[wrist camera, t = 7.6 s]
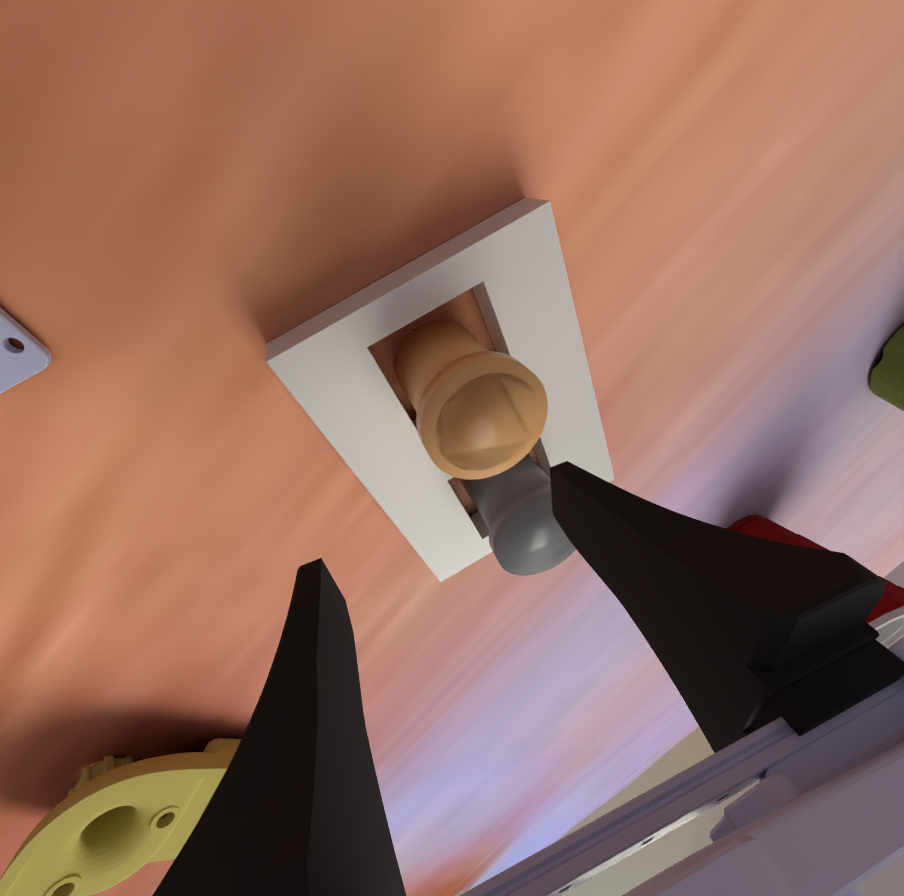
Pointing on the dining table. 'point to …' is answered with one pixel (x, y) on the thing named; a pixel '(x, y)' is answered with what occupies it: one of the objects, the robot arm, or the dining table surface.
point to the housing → (514, 333)
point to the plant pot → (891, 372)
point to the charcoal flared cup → (520, 518)
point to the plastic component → (117, 822)
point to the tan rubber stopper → (470, 401)
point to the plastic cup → (896, 608)
